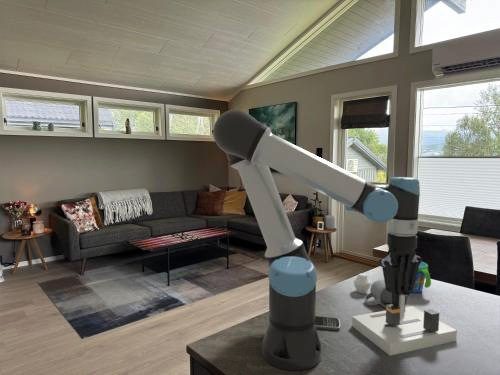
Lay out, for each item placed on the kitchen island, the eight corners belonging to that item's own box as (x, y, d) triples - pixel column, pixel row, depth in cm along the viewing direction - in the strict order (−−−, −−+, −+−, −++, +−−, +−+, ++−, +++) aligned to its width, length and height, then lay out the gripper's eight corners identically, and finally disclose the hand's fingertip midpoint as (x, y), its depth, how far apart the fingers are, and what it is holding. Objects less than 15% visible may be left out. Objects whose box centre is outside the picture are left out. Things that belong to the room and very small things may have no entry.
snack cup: (386, 283, 137) (387, 258, 136) (409, 281, 139) (410, 256, 138) (413, 299, 121) (414, 270, 120) (438, 296, 124) (440, 268, 123)
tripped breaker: (392, 326, 95) (392, 308, 94) (385, 322, 97) (386, 304, 97) (399, 325, 96) (400, 307, 95) (392, 320, 98) (393, 303, 98)
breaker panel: (390, 355, 87) (390, 343, 87) (352, 326, 102) (352, 316, 102) (456, 340, 94) (456, 330, 94) (411, 315, 109) (411, 305, 109)
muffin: (365, 296, 124) (365, 277, 123) (350, 291, 128) (350, 273, 127) (373, 292, 128) (374, 273, 127) (358, 287, 132) (359, 269, 132)
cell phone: (340, 332, 99) (340, 327, 99) (301, 328, 101) (301, 324, 101) (339, 322, 105) (339, 318, 105) (303, 319, 107) (303, 314, 107)
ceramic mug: (387, 297, 123) (388, 276, 122) (401, 307, 115) (401, 285, 114) (359, 299, 121) (359, 278, 120) (371, 310, 113) (371, 287, 112)
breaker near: (431, 332, 92) (432, 314, 91) (423, 327, 94) (424, 310, 94) (438, 331, 92) (439, 313, 92) (430, 326, 95) (431, 309, 94)
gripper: (392, 238, 89) (388, 325, 91) (431, 234, 93) (427, 318, 96) (373, 232, 96) (370, 313, 99) (410, 229, 101) (406, 307, 103)
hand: (398, 315), depth 97 cm, fingers closed
